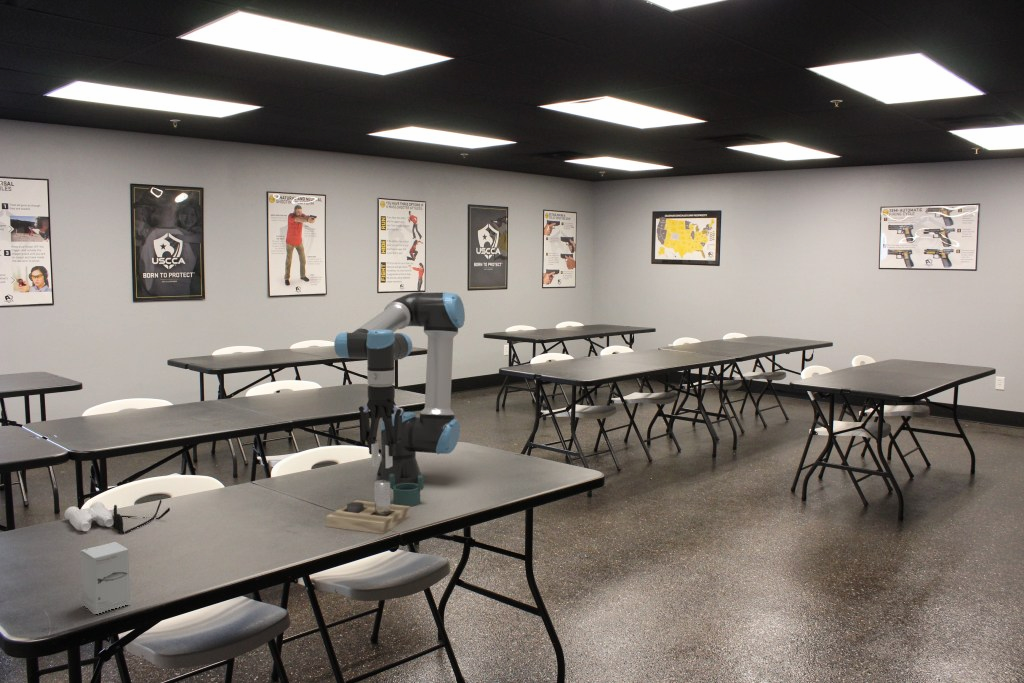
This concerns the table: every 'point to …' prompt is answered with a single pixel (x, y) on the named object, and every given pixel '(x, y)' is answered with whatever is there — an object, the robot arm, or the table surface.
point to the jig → (366, 517)
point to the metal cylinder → (382, 498)
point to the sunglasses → (119, 521)
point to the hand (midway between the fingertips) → (382, 466)
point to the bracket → (406, 491)
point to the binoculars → (89, 516)
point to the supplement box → (105, 577)
